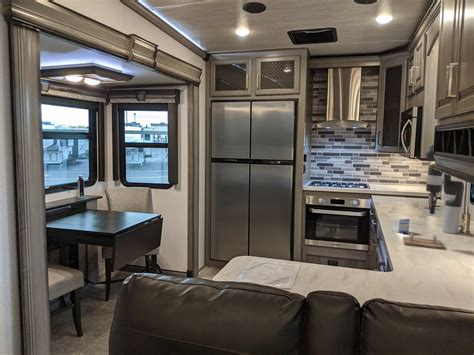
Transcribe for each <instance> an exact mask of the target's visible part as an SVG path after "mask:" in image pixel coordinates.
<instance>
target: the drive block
mask: <svg viewBox="0 0 474 355" xmlns="http://www.w3.org/2000/svg"><path fill="white" fill-rule="evenodd" d="M441 214H442V209H441V208H437V207H435V212H434V214H430V208H429V206H428V207H427V206H423V207H422V213H421V215H422V216H425V217H432V218H433V217H434V218H441Z"/></svg>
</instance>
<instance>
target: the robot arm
mask: <svg viewBox="0 0 474 355" xmlns="http://www.w3.org/2000/svg"><path fill="white" fill-rule="evenodd" d="M425 156H426V158H427V159H428V160H429V161H435V160H434V156H433V144H432V145H431V146H429V147H428V149H427V150H426V153H425ZM431 165H432V164H430V165H428V170H427V177H426V186H425V187H426V188H425V191H426V192H428V203H427V204H428V207H429V208H430V214H434V212H435V208H437V200H438V195H437V193H442V187H443V193H444V195H449V196H454V198H451V199H446V200H445V201H444V210H443V211H444V212H443V218H442V219H443V220H442V221H443V222H442V232H444V233H447V234H455V235H457V234H459V233H460V226H461V225H460V222H461V214H462V213H461V211H462V204H463V203H462V202H463V197H464V192H465V191H464V190H465V185H464V182H463V181H459V180H452V175H451V176H450V175H447V174H445V173H444V172H443V171H442V172H440V171H438V170H435V169H433V168H430V166H431ZM442 184H443V186H442Z"/></svg>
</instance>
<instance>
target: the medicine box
mask: <svg viewBox="0 0 474 355" xmlns="http://www.w3.org/2000/svg"><path fill="white" fill-rule="evenodd" d="M410 222H411V221H410V218H407V217H401V218H400V217H399V218H398V217H397V218H396V217H395V218H394V226H393V232H395V233H399V234H402V233H404V232H405V233H409V232H410ZM405 233H404V234H405Z"/></svg>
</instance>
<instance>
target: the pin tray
mask: <svg viewBox="0 0 474 355" xmlns="http://www.w3.org/2000/svg"><path fill="white" fill-rule="evenodd" d="M402 241H403V244H404V246H408V247H409V246H412V247H419V248H427V249H428V248H429V249H434V250H435V249H436V250H445V246H444V244H443V242H442V240H437V236H436V235H435V234H433V237H432V239H429V238H419V237H414V233H413V232H410V236H409V237H408V236H402Z"/></svg>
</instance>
